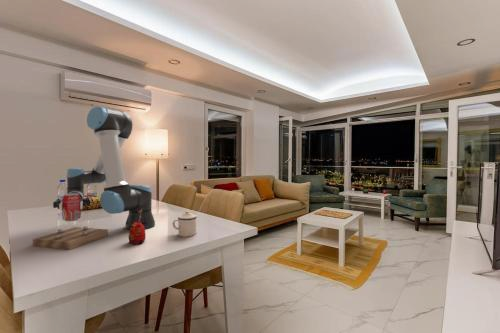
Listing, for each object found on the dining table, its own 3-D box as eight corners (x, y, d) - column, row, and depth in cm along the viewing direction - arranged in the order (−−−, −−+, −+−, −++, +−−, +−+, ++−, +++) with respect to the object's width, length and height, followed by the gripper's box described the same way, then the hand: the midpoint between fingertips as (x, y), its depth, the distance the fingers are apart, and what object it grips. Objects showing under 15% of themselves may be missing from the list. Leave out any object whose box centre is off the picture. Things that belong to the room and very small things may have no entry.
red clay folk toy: (125, 242, 114) (125, 209, 114) (139, 238, 120) (139, 207, 119) (134, 246, 110) (134, 211, 109) (149, 241, 116) (149, 209, 115)
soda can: (68, 218, 120) (68, 192, 120) (84, 218, 121) (84, 193, 121) (58, 221, 113) (58, 195, 113) (75, 221, 114) (75, 195, 114)
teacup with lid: (198, 231, 131) (198, 209, 131) (193, 237, 122) (193, 213, 122) (176, 231, 132) (176, 209, 132) (169, 236, 123) (169, 212, 123)
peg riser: (107, 235, 125) (107, 226, 125) (70, 249, 105) (70, 238, 105) (74, 232, 129) (74, 223, 129) (33, 245, 110) (32, 235, 110)
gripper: (96, 204, 138) (97, 213, 118) (50, 207, 127) (42, 217, 108) (96, 190, 137) (97, 196, 118) (50, 192, 127) (42, 199, 107)
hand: (71, 206), depth 113 cm, fingers closed on soda can, 7 cm apart
